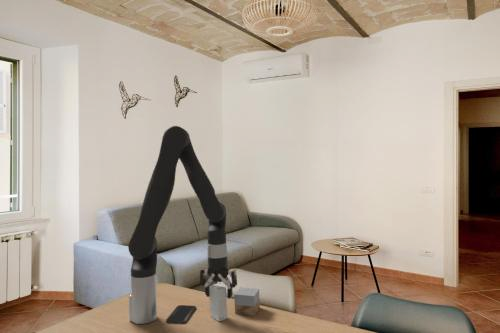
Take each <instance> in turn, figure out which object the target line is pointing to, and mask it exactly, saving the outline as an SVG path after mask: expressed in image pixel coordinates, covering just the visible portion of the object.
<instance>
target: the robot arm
mask: <svg viewBox="0 0 500 333" xmlns="http://www.w3.org/2000/svg"><path fill="white" fill-rule="evenodd" d="M179 160H180V162H181V164H182V165H183V166H182V167H183V168H184V170H185V173H186V176H187V179H188V181H189V183H190V185H191V188H192V189H193V191H194V193H195V195H196V197H197V199H198V200H199V203H200V206H201V208H202V212H203V213H204V215H205V217H206V219H207V220H208V229H207V249H206V250H207V268H201V269H200V272H199V285H200V286H203V287H204V292H205V293H204V294H205V296H206V297H207V298H209V286H211V283H212V282H213V283H216V282H219V283H223V284H224V285H225V287H226V294H227V299H231V297H233V294H234V293H233V288H234V289H235V287H236V286H238V277H237V276H238V275H237V270H236V269H232V270H229V267H228V266H229V263H228V254H229V253H228V246H227V245H228V244H227V232H226V224H227V221H226V220H227V210H226V206H225V204H223V202H220V201H219V199H218V197H217V195H216V191H215V188H214V187H213V184H212V182H211V181H210V178H209V177H208V175H207V173H206V171H205V169H204V168H203V167H202V164H201V162H200V161H199V159H198V156H197V155H196V152H195V150H194V147H193V143H192V140H191V137H190V134H189V132H188V131H187V130H186V129H185V128H184V127H181V126H179V125H173V126H169V127H168V128H166V130H164V132H163V134H162V138H161V144H160V148H159V154H158V158H157V161H156V163H155V166H154V169H153V171H152V174H151V176H150V180H149V182H148V185H147V188H146V191H145V194H144V199H143V202H142V206H141V210H140V214H139V218H138V221H137V224H136V226H135V228H134V230H133V233H132V235H131V238H130V239H129V242H128V244H127V245H128V248H127V249H128V252H129V254H130V256H131V257H132V263H131V268H130V288H131V289H130V290H131V291H130V292H131V293H130V295H129V297H128V303H129V304H128V309H129V310H128V312H129V314H128V315H129V318H128V319H129V322H132V323H134V324H137V325H145V324H150V323H152V322H154V321H156V320H157V319H158V310H157V308H158V307H157V306H158V305H157V303H158V300H157V298H158V297H157V296H158V295H157V264H158V242H157V237H156V233H157V230H158V226H159V224H160V222H161V219H162V218H163V216H164V214H165V212H166V210H167V208H168V206H169V203H170V201H171V198H172V194H173V191H174V187H175V181H176V174H177V173H176V171H177V166H178V163H179ZM206 275H208V276H209V278H208V279H207V280H206ZM229 277H231V279H230V278H229Z"/></svg>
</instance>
